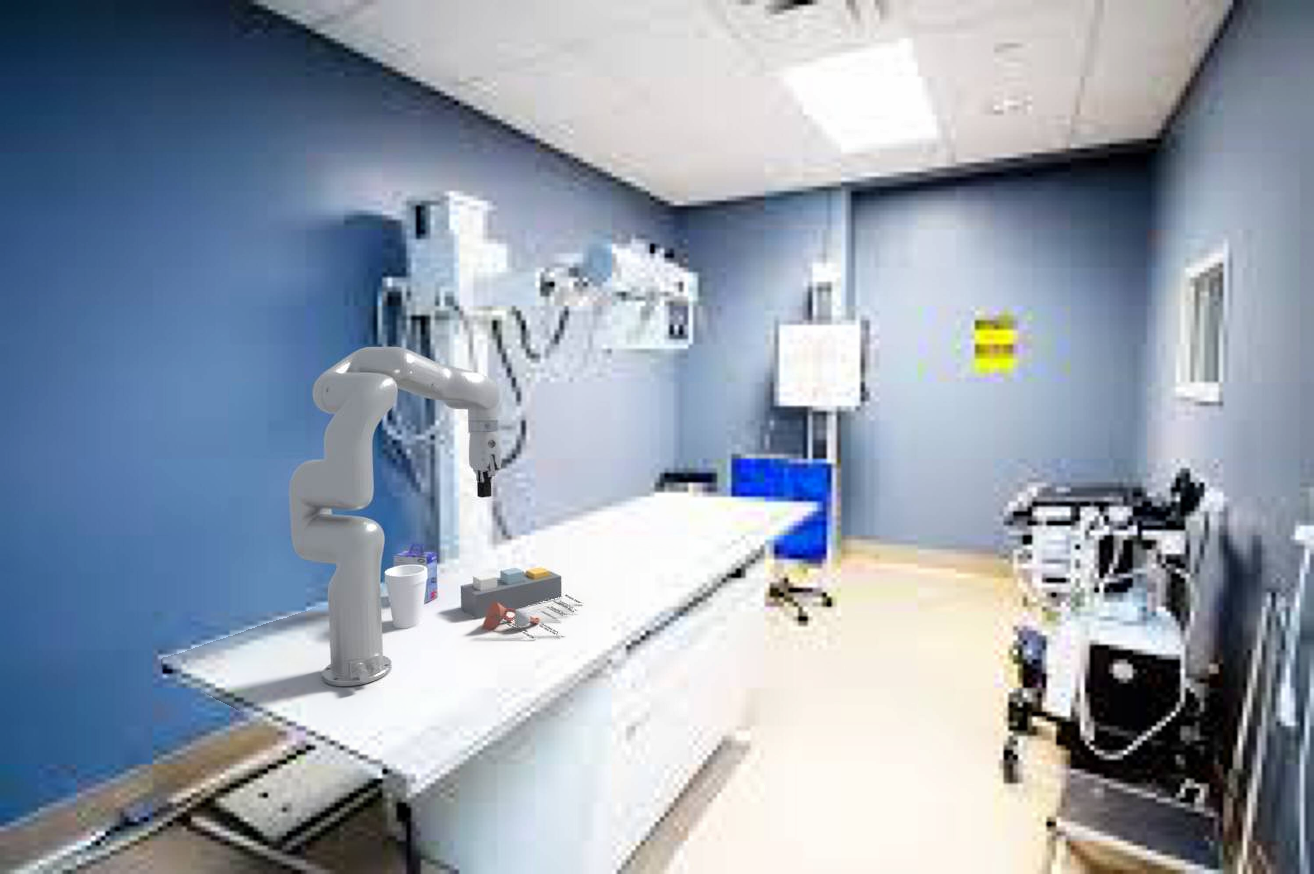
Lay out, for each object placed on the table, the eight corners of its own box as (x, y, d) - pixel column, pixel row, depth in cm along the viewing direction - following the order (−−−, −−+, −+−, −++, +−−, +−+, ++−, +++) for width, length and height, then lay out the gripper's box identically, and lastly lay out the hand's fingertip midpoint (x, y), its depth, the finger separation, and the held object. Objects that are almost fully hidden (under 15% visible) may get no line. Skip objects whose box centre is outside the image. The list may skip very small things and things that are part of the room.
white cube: (497, 592, 170) (497, 577, 169) (480, 596, 167) (480, 580, 167) (489, 588, 173) (489, 572, 173) (473, 591, 170) (472, 576, 170)
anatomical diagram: (485, 604, 153) (531, 568, 177) (472, 637, 155) (520, 597, 179) (564, 647, 150) (600, 604, 174) (550, 679, 152) (588, 633, 176)
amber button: (549, 585, 179) (549, 571, 179) (534, 589, 177) (534, 574, 176) (541, 581, 183) (540, 567, 182) (526, 584, 180) (526, 570, 180)
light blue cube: (524, 586, 175) (523, 571, 174) (508, 590, 172) (508, 574, 171) (515, 582, 178) (515, 567, 178) (500, 585, 175) (500, 570, 175)
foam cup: (384, 632, 155) (382, 577, 154) (388, 618, 164) (386, 566, 163) (427, 628, 158) (426, 574, 157) (429, 614, 167) (428, 563, 165)
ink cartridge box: (439, 596, 180) (437, 543, 179) (428, 603, 175) (426, 548, 173) (405, 593, 182) (403, 541, 181) (393, 600, 177) (391, 546, 175)
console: (561, 598, 179) (561, 576, 179) (476, 618, 164) (476, 595, 164) (544, 589, 186) (544, 568, 186) (461, 608, 171) (460, 585, 171)
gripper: (509, 428, 172) (510, 499, 174) (483, 424, 184) (485, 491, 186) (482, 430, 168) (483, 502, 169) (457, 425, 179) (459, 494, 181)
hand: (484, 496), depth 178 cm, fingers closed
